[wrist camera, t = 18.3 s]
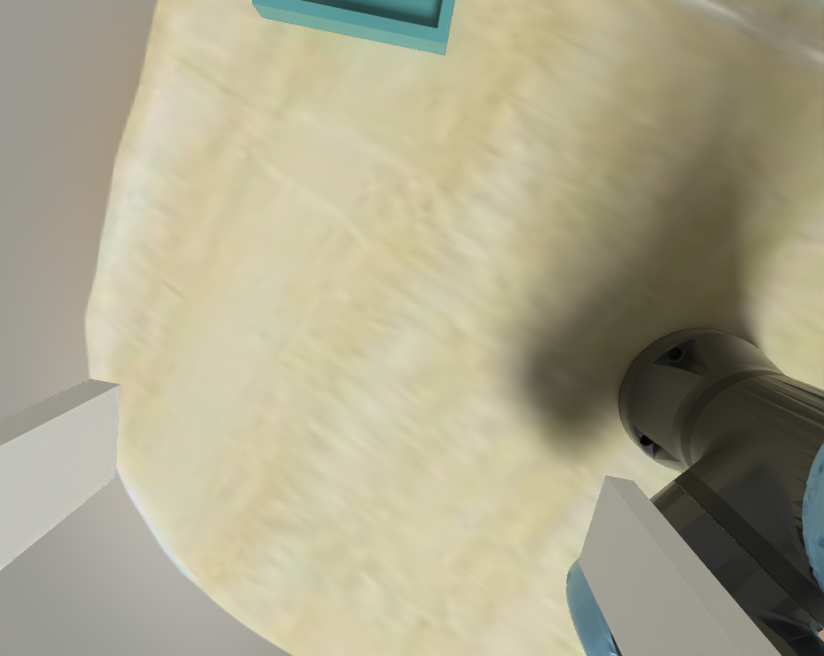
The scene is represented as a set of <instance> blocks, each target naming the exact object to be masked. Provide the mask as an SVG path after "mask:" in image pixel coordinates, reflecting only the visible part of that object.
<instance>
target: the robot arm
mask: <svg viewBox="0 0 824 656" xmlns="http://www.w3.org/2000/svg"><path fill="white" fill-rule="evenodd" d="M119 398H120V384H115V383H109V382H104V381H99V380H93V379H90V380H88V381H86V382H84V383H81V384H79V385H77V386H75V387H72V388H70V389H68V390H66V391H64V392H61V393H59V394H57V395H55V396H52V397H50V398H48V399H46V400H44V401H41V402H39V403H37V404H35V405H33V406H30V407H28V408H26V409H24V410H21V411H19V412H17V413H15V414H13V415H10V416H8V417H6V418H4V419H1V420H0V570H1V569H2V568H4V567H5V566H6V565H8V564H9V563H10V562H11V561H12V560H14V559H15V558H16V557H17V556H19V555H20V554H21V553H22V552H24V551H25V550H26V549H27V548H29V547H30V546H31V545H32V544H33V543H35V542H36V541H37V540H38V539H40V538H41V537H42V536H43V535H45V534H46V533H47V532H48V531H50V530H51V529H52V528H53V527H55V526H56V525H57V524H58V523H60V522H61V521H62V520H63V519H64V518H66V517H67V516H68V515H69V514H71V513H72V512H73V511H74V510H75V509H77V508H78V507H79V506H80V505H82V504H83V503H84V502H85V501H87V500H88V499H89V498H90V497H92V496H93V495H94V494H95V493H97V492H98V491H99V490H100V489H102V488H103V487H104V486H105V485H107V484H108V483H109V482H110V481H112V480H113V479H114V478H115V474H116V455H117V436H118V417H119ZM619 411H620V416H621V420H622V423H623V426H624V428H625V430H626V432H627V434H628V435H629V437H630V438H631V439H632V441H633V442H634V443H635V444H636V445H637V446H638V447H639V448H640V449H641V450H642V451H643V452H644V453H645V454H646V455H648V456H649V457H650V458H652V459H653V460H655V461H656V462H658V463H660V464H661V465H664V466H666V467H668V468H671V469H674V470H676V471H679V472H682V474H681V475H680V476H678V477H677V478H676V479H674V480H673V481H672V482H671V483H669V484H668V485H667V486H666V487H664V488H663V489H662V490H661V491H659V492H658V493H657V494H656V495H654V496H653V497H652V498H651V499H648V497H647V496H646V495H645V494H644V493H643V492H642V490H641V489H640V488H639V487H638V486H637V484H636V483H635V482H634V481H632V480H626V479H621V478H616V477H610V476H606V477H605V480H604V483H603V486H602V489H601V492H600V495H599V499H598V502H597V505H596V508H595V511H594V514H593V517H592V521H591V524H590V527H589V530H588V533H587V536H586V539H585V542H584V546H583V549H582V552H581V555H580V557H579V558H578V559H577V560H576V561H575V562H574V563H573V564H572V566H571V567H570V569H569V571H568V575H567V582H566V583H567V586H566V596H567V602H568V607H569V611H570V614H571V618H572V621H573V624H574V627H575V629H576V632H577V635H578V637H579V639H580V642H581V644H582V646H583V649H584V651H585V653H586V655H587V656H824V642H823V641H822V640H821V639H820V637H819V636H818V633H819V632H820V631H822V630H823V628H824V390H822V389H819V388H817V387H814V386H811V385H809V384H806V383H804V382H801V381H798V380H796V379H793V378H790V377H788V376H785V375H784V374H783V373H782V372H781V371H780V370H779V369H778V368H777V367H776V366H775V365H774V364H773V363H772V362H771V361H770V360H769V359H768V358H767V357H766V356H765V355H764V354H763V353H762V352H761V351H760V350H759V349H758V348H757V347H755V346H754V345H752V344H751V343H749V342H747V341H745V340H744V339H741V338H739V337H737V336H734V335H731V334H728V333H725V332H722V331H718V330H713V329H705V328H697V329H687V330H682V331H678V332H675V333H672V334H670V335H667V336H665V337H663V338H661V339H659V340H658V341H656V342H654V343H653V344H652V345H650V346H649V347H648V348H646V349H645V350H644V351H643V352H642V353H641V354H640V355H639V356H638V357H637V358H636V360H635V361H634V362H633V364H632V365H631V366H630V368H629V370H628V372H627V373H626V376H625V378H624V380H623V383H622V386H621V390H620V396H619ZM678 484H679V485H680V486H681V487H682V488H683V489H684V490H685V491H686V492H685V491H684V490H683V489H682V488H681V487H680V486H679V485H678ZM806 611H807V612H808V613H809V614H808V613H807V612H806ZM818 623H819V624H820V625H821V626H822V627H823V628H822V627H821V626H820V625H819V624H818Z"/></svg>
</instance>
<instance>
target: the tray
mask: <svg viewBox="0 0 824 656" xmlns="http://www.w3.org/2000/svg"><path fill="white" fill-rule="evenodd" d="M252 4H253V6H254V7H255V8H256V10H257V11H258V12H259V14H260V15H261V16H262V18H267V19H272V20H276V21H281V22H286V23H291V24H296V25H301V26H305V27H310V28H315V29H320V30H325V31H330V32H335V33H339V34H344V35H349V36H354V37H359V38H364V39H368V40H373V41H378V42H383V43H388V44H393V45H397V46H402V47H407V48H412V49H417V50H422V51H427V52H431V53H436V54H441V55H445V52H446V46H447V41H448V36H449V31H450V25H451V20H452V15H453V9H454V4H455V0H252Z"/></svg>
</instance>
